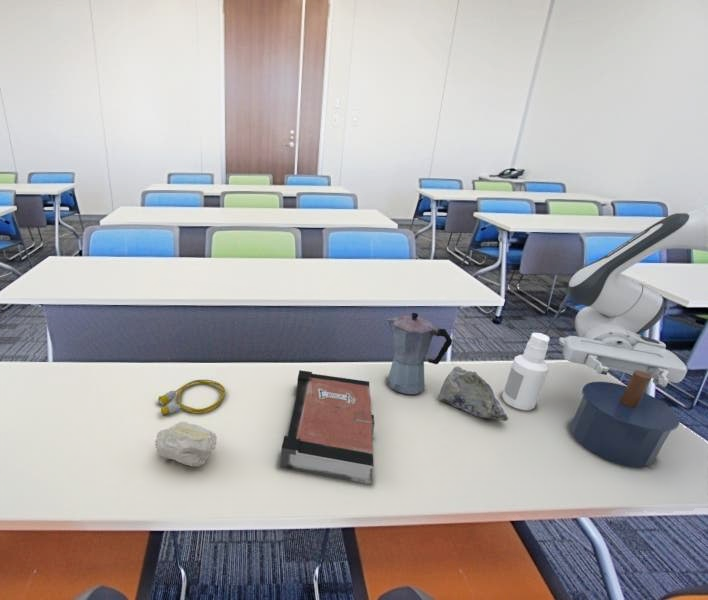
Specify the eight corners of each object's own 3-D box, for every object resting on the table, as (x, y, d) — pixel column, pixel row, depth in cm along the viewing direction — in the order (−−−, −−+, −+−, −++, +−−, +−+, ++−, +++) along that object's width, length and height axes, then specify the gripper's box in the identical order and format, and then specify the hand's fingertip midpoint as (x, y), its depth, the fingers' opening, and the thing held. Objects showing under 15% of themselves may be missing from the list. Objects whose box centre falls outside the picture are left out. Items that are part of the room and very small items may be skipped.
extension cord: (161, 385, 100) (161, 378, 99) (224, 381, 101) (224, 375, 100) (155, 417, 89) (154, 410, 88) (226, 413, 90) (226, 406, 89)
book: (374, 485, 73) (378, 465, 71) (280, 467, 76) (281, 447, 74) (369, 397, 96) (372, 380, 94) (298, 386, 100) (299, 370, 98)
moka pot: (383, 366, 109) (395, 300, 100) (443, 387, 100) (460, 316, 92) (370, 383, 101) (382, 313, 93) (434, 407, 93) (452, 332, 85)
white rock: (161, 439, 83) (153, 481, 74) (153, 410, 79) (144, 451, 70) (218, 433, 83) (218, 474, 75) (214, 404, 79) (213, 444, 71)
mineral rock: (508, 428, 87) (521, 391, 83) (463, 432, 86) (473, 394, 82) (472, 392, 99) (482, 357, 95) (432, 394, 98) (440, 360, 93)
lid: (658, 397, 83) (675, 364, 80) (692, 444, 71) (714, 407, 68) (573, 379, 89) (586, 347, 86) (591, 419, 77) (607, 385, 73)
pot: (638, 431, 87) (656, 396, 83) (665, 477, 76) (688, 438, 72) (563, 413, 92) (578, 379, 88) (578, 453, 81) (595, 416, 77)
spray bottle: (514, 390, 100) (535, 326, 92) (541, 406, 94) (566, 340, 87) (495, 396, 97) (515, 332, 90) (522, 414, 91) (546, 346, 84)
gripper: (561, 324, 94) (575, 352, 83) (673, 343, 87) (706, 376, 75) (552, 347, 97) (565, 377, 86) (661, 368, 89) (690, 403, 78)
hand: (632, 377), depth 80 cm, fingers open, 8 cm apart
